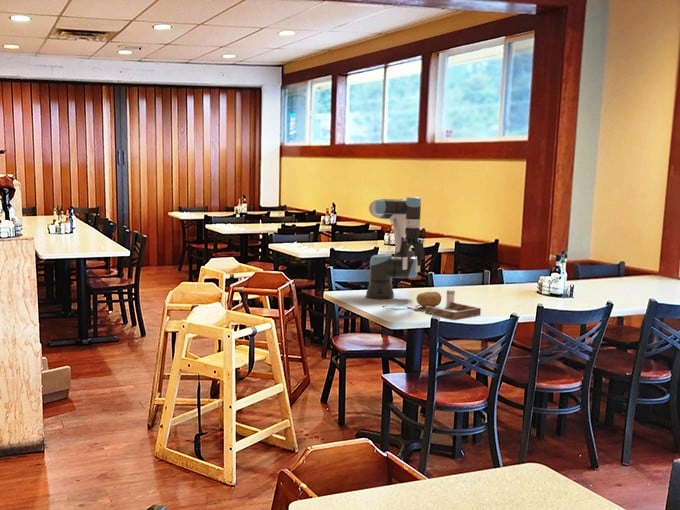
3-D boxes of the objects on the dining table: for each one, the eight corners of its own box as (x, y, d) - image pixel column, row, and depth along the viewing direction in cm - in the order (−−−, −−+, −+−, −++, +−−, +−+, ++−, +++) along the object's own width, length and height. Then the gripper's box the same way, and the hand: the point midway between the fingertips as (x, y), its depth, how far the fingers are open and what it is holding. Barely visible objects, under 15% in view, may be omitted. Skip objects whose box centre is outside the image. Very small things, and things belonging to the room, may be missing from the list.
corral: (425, 312, 347) (425, 306, 346) (451, 307, 359) (451, 302, 359) (454, 318, 333) (454, 312, 332) (480, 314, 345) (480, 308, 344)
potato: (411, 307, 359) (411, 291, 358) (434, 305, 366) (434, 289, 365) (422, 310, 351) (422, 294, 350) (445, 308, 357) (445, 292, 356)
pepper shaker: (444, 306, 363) (444, 290, 362) (449, 305, 366) (450, 289, 365) (450, 307, 360) (451, 291, 359) (455, 306, 362) (456, 290, 361)
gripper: (392, 225, 369) (391, 268, 372) (422, 229, 352) (421, 273, 355) (403, 225, 374) (401, 267, 376) (433, 228, 357) (431, 272, 360)
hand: (411, 270), depth 366 cm, fingers open, 9 cm apart
